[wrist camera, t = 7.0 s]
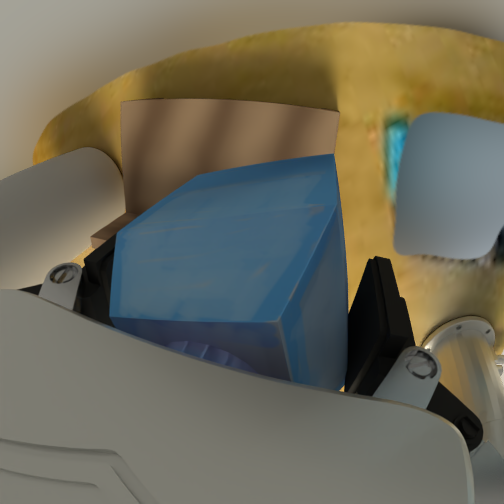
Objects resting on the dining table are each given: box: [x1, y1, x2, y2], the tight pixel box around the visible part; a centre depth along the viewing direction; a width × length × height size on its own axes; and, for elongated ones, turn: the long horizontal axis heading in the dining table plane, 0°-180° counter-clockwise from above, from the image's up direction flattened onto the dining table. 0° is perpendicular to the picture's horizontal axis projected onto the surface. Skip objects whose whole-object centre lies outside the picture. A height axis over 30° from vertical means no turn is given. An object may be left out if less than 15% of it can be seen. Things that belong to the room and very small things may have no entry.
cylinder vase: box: [0, 147, 126, 290], centre depth 26 cm, size 12×12×25 cm
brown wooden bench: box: [90, 98, 340, 249], centre depth 25 cm, size 20×13×12 cm, turn 86°
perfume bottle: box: [109, 153, 348, 391], centre depth 9 cm, size 6×6×12 cm
